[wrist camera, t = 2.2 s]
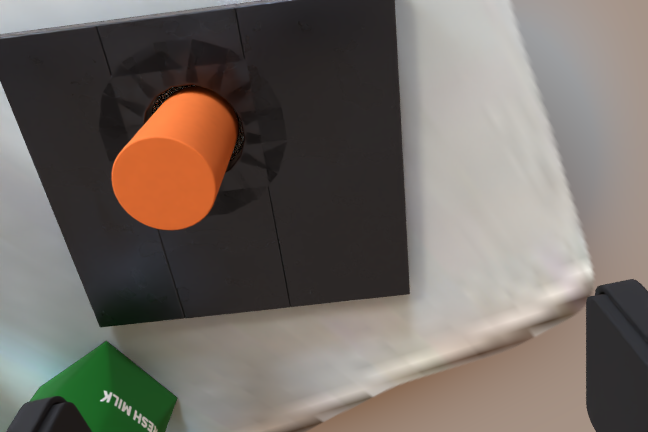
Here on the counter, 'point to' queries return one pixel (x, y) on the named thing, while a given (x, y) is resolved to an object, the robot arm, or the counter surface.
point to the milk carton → (112, 393)
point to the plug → (177, 160)
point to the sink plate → (242, 172)
